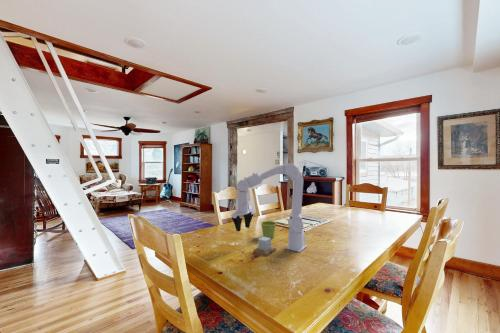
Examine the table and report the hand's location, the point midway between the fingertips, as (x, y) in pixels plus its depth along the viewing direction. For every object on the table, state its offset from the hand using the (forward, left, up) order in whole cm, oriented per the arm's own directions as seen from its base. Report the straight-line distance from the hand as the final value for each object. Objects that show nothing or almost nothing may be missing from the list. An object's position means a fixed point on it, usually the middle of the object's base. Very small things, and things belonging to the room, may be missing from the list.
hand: (242, 229), depth 118 cm
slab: (-3, +12, -10) cm, 16 cm away
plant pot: (-22, +2, -10) cm, 24 cm away
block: (-3, +11, -8) cm, 14 cm away
